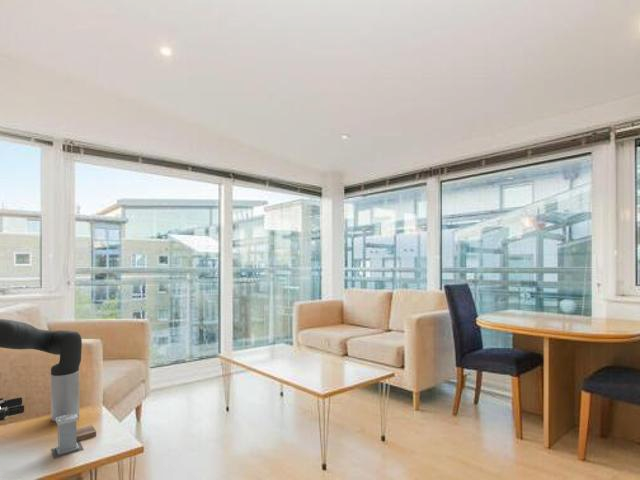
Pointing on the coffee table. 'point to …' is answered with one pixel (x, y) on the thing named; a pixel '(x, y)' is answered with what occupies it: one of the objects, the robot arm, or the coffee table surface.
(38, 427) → the coffee table surface
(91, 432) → the plinth
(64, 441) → the housing
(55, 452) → the mat
